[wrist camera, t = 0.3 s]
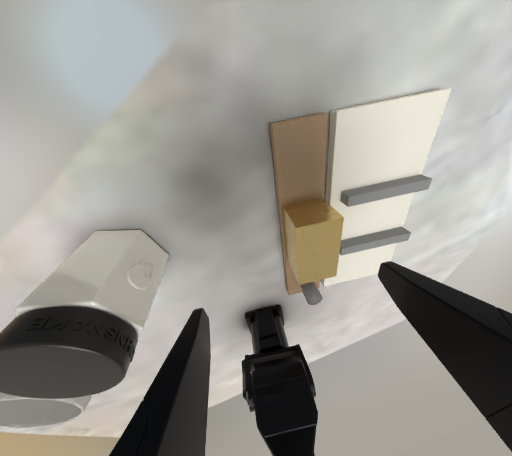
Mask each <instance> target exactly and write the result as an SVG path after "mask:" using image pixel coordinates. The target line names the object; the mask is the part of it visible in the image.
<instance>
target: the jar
mask: <svg viewBox="0 0 512 456" xmlns="http://www.w3.org/2000/svg"><path fill="white" fill-rule="evenodd" d="M168 258H169V255H168V254H167V253H166V252H165V251H164V250H163V249H162V248H161V247H160V246H158V245H157V244H156V243H155V242H154V241H153V240H152V239H151V238H150V237H148V236H147V235H146V234H145V233H144V232H143V231H142V230H118V231H95V232H94V233H93V234H92V235H91V236H90V237H89V238H88V239H87V240H86V241H85V242H84V243H83V244H82V245H81V246H80V247H78V248H77V249H76V250H75V251H74V252H73V253H72V254H71V255H70V256H69V257H68V258H67V259H66V260H65V261H64V262H63V263H62V264H61V265H60V266H59V267H58V268H57V269H56V270H55V271H54V272H53V273H52V274H51V275H50V276H49V277H48V278H47V279H46V280H45V281H44V282H43V283H41V284H40V285H39V286H38V287H37V288H36V289H35V290H34V291H33V292H32V293H31V294H30V295H29V296H28V297H27V298H26V299H25V300H24V301H23V302H22V303H21V304H20V305H19V306H18V307H17V308H16V313H15V319H14V320H13V321H12V322H11V323H10V324H9V325H8V326H7V327H6V328H5V329H4V330H3V331H2V332H1V333H0V392H1V393H5V394H9V395H14V396H20V397H27V398H39V399H64V398H76V397H83V396H88V395H93V394H97V393H100V392H103V391H106V390H108V389H110V388H112V387H114V386H116V385H117V384H119V383H120V382H121V381H122V380H123V378H124V377H125V375H126V372H127V370H128V367H129V364H130V362H132V359H133V356H134V353H135V348H136V345H137V342H138V337H139V335H140V333H141V332H142V330H143V328H144V325H145V323H146V320H147V317H148V314H149V311H150V309H151V306H152V303H153V300H154V297H155V295H156V292H157V289H158V286H159V283H160V281H161V278H162V275H163V272H164V269H165V267H166V264H167V261H168Z"/></svg>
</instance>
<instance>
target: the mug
mask: <svg viewBox="0 0 512 456" xmlns="http://www.w3.org/2000/svg"><path fill="white" fill-rule="evenodd" d="M91 396H92V395H88V396H83V397H76V398H64V399H39V398H27V397H20V396H14V395H9V394H5V393H1V392H0V427H1V428H42V427H50V426H56V425H60V424H64V423H67V422H70V421H72V420H74V419H76V418H77V417H79V416H80V415H81V414H82V413H83V412H84V410H85V408H86V406H87V405H88V403H89V401H90V398H91Z"/></svg>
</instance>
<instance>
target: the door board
mask: <svg viewBox="0 0 512 456" xmlns="http://www.w3.org/2000/svg"><path fill="white" fill-rule="evenodd" d="M451 89H452V88H448V89H438V90H433V91H428V92H423V93H418V94H413V95H408V96H403V97H398V98H393V99H388V100H383V101H378V102H373V103H368V104H363V105H358V106H353V107H348V108H343V109H338V110H333V111H330V128H329V146H328V163H327V180H326V197H325V201H326V202H327V203H329V204H330V205H331V206H332V207H333V208H334V209H335V210H336V211H337V212H339V213H340V214H341V215H342V216H343V217H344V221H343V229H342V237H341V244H340V252H339V260H338V268H337V275H336V276H335V277H331V278H326V279H322V280H321V282H322V284H323V286H329V285H333V284H337V283H341V282H345V281H350V280H354V279H358V278H362V277H366V276H371V275H375V274H378V271H379V268H380V264H381V263H383V262H387V261H391V258H392V255H393V253H394V250H395V247H396V244H397V243H398V242H402V241H406V240H408V239H409V236H410V234H411V233H410V232H409V231H407V230H406V229H404V228H403V224H404V222H405V219H406V216H407V213H408V210H409V207H410V205H411V202H412V199H413V196H414V193H415V192H418V191H422V190H427V189H428V188H429V186H430V183H431V180H432V178H429V177H426V176H423V175H421V173H422V171H423V168H424V165H425V162H426V159H427V157H428V154H429V151H430V148H431V145H432V142H433V140H434V137H435V134H436V131H437V128H438V125H439V123H440V120H441V117H442V114H443V111H444V108H445V106H446V103H447V100H448V97H449V94H450V92H451ZM269 126H270V135H271V145H272V154H273V164H274V174H275V183H276V193H277V202H278V212H279V221H280V231H281V240H282V250H283V260H284V269H285V279H286V288H287V291H288V294H289V295H291V294H295V293H299V292H303V293H304V296H305V298H306V300H307V302H308V304H310V305H315V304H318V303H319V302H320V301H321V300H322V296H321V294H320V292H319V290H318V288H319V280H318V281H314V282H310V283H305V284H301V285H298V283H297V280H296V278H295V276H294V273H293V271H292V269H291V266H290V264H289V262H288V259H287V252H286V241H285V230H284V218H283V207H282V206H285V205H289V204H294V203H298V202H303V201H307V200H312V199H317V198H321V197H322V198H323V199H324V186H325V167H326V149H327V130H328V113H318V114H313V115H308V116H303V117H298V118H293V119H288V120H283V121H278V122H273V123H269Z"/></svg>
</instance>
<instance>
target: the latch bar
mask: <svg viewBox="0 0 512 456" xmlns="http://www.w3.org/2000/svg"><path fill="white" fill-rule="evenodd" d="M282 207H283V218H284V230H285V241H286V252H287V259H288V262H289V264H290V266H291V269H292V271H293V273H294V276H295V278H296V280H297V283H298V285H301V284H305V283H310V282H314V281H318V280H322V279H326V278H331V277H335V276H336V275H337V268H338V260H339V252H340V244H341V237H342V229H343V221H344V217H343V216H342V215H341V214H340V213H339V212H337V211H336V210H335V209H334V208H333V207H332V206H331V205H330V204H329V203H327V202H326V201H325V200H324V199H323V198H322V197H321V198H317V199H312V200H307V201H303V202H298V203H294V204H289V205H285V206H282Z"/></svg>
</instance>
